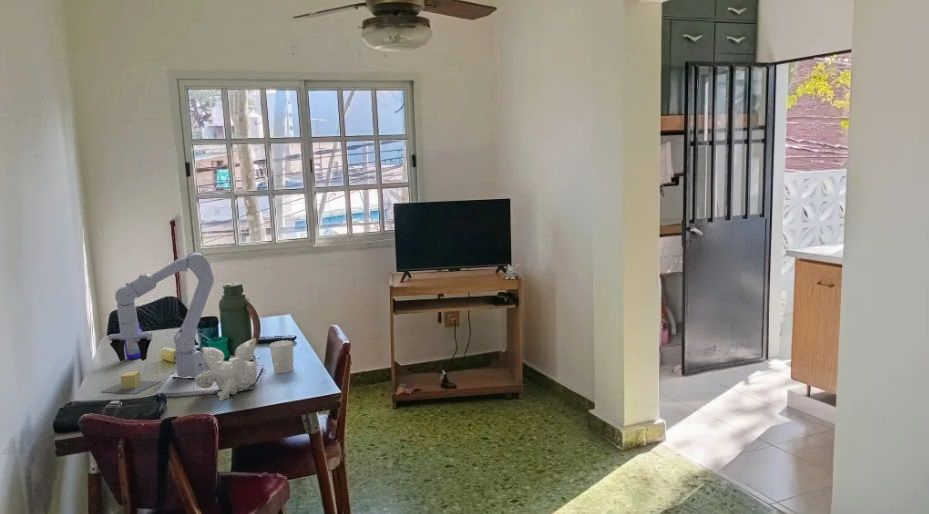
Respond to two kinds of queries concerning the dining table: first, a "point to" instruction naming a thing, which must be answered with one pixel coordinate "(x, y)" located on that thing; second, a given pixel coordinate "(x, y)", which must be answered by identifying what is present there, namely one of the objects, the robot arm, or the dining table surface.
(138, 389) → the placemat
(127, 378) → the block
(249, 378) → the white lumpy sculpture
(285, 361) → the white cup
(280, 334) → the dining table surface
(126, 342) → the bottle
